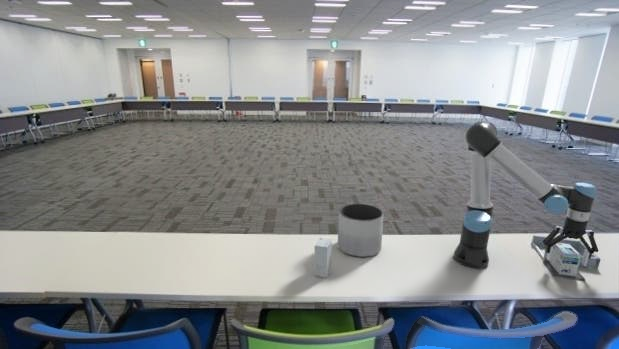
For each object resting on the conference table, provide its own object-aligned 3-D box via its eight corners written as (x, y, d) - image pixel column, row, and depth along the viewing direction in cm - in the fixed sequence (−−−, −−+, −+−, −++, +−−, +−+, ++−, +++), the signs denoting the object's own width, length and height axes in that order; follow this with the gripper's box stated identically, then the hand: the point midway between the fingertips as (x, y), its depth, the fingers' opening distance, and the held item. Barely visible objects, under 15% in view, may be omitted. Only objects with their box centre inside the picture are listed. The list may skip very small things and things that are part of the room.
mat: (552, 275, 145) (553, 274, 145) (543, 261, 156) (543, 260, 156) (585, 280, 142) (585, 279, 142) (572, 266, 153) (573, 265, 153)
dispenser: (543, 261, 157) (546, 251, 156) (531, 243, 174) (533, 234, 172) (597, 268, 151) (600, 259, 149) (579, 249, 168) (581, 240, 166)
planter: (373, 236, 180) (375, 202, 174) (387, 257, 159) (390, 219, 153) (333, 238, 177) (334, 204, 171) (343, 260, 156) (344, 222, 150)
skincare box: (326, 278, 142) (327, 248, 138) (313, 276, 144) (314, 245, 139) (331, 268, 150) (332, 239, 145) (318, 266, 151) (319, 236, 147)
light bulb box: (576, 277, 144) (582, 255, 140) (558, 274, 145) (564, 253, 142) (564, 264, 153) (570, 243, 150) (548, 262, 155) (553, 241, 152)
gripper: (546, 218, 142) (536, 261, 148) (617, 226, 135) (603, 271, 141) (540, 211, 149) (531, 253, 155) (607, 218, 142) (594, 262, 148)
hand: (565, 261), depth 148 cm, fingers open, 13 cm apart
